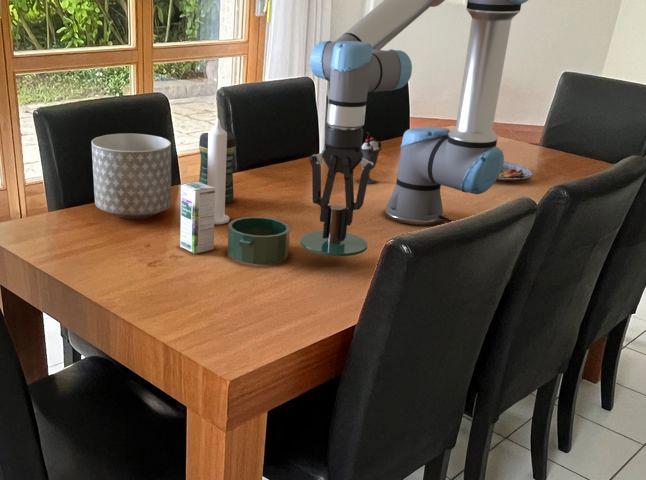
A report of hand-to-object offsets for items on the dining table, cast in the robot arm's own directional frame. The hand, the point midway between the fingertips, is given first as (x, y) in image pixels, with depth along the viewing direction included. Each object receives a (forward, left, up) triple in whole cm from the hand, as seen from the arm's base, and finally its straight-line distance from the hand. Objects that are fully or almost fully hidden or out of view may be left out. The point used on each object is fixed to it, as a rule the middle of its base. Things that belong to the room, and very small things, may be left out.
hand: (334, 237), depth 161 cm
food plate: (-28, -106, -7) cm, 110 cm away
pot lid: (0, 0, -1) cm, 1 cm away
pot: (+17, 0, -7) cm, 19 cm away
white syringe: (+35, -19, -7) cm, 40 cm away
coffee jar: (+41, -34, -7) cm, 54 cm away
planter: (+55, -13, -7) cm, 57 cm away
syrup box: (+31, +2, -7) cm, 32 cm away
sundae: (+8, -76, -7) cm, 76 cm away
